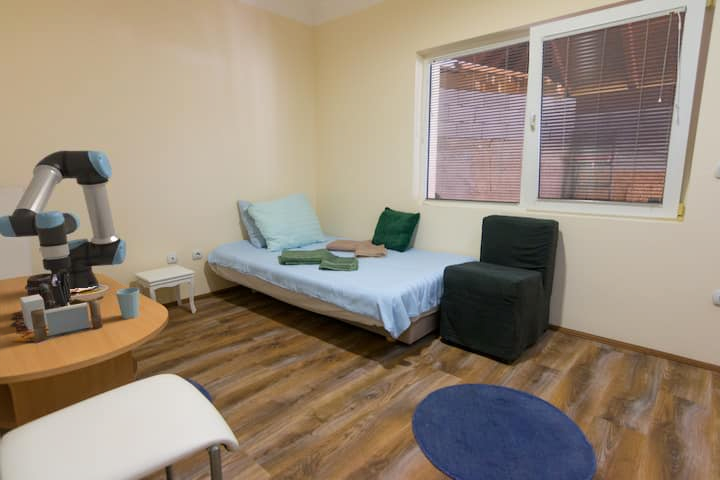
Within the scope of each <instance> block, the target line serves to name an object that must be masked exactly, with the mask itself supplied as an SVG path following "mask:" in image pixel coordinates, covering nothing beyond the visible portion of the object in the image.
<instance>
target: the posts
mask: <svg viewBox="0 0 720 480" xmlns="http://www.w3.org/2000/svg"><path fill="white" fill-rule="evenodd" d="M100 306H101V305H100V299H93V300H89V301H88V307H89V313H90V319H91V326H92V327H91V326H90V327H88V328H83V329H78V330H74V331H69V332H64V333H59V334H55V335H50V336H49V335H48V332H47V331H48V330H47V326H46V324H45V318H44V312H43V309H40V310H34V311H31V318H32V323H33V329H32V330H33V333H34V340H35V343H36V342H42V341H47V340H48V339H53V338H57V337H62V336H68V335H75V334H77V333H78V334H79V333H82V332H88V331H91V328H92V330H99V329H102V328H103V322H102V312H101V307H100Z"/></svg>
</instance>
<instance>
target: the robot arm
mask: <svg viewBox="0 0 720 480" xmlns="http://www.w3.org/2000/svg"><path fill="white" fill-rule="evenodd" d="M111 165H112V164H111V163H110V160H109V158H108V156H107V155H106V153H104V152H103V151H99V150H96V151H95V150H59V151H55V152H53V153H50V154H48V155H46V156H45V157H44V158H42V159H40V160H39V161H38V162H37V164H36V165H35V166H34V168H33V170H32V175H33V177H32V178H31V180H30V182H29V183H28V186H27V187H26V188H25V191H24V193H23V195H22V197H21V198H20V200H19V201H18V204H17V206H16V208H15V209H14V210H13V212H12V214H11V215H10V214H7V215H3V216H0V235H1V236H3V237H5V238H22V237H23V238H24V237H25V238H26V237H38V242H39V247H40V248H38V251H39V252H40V253H41V258H43V259H42V260H41V261H42V265H43V269H44V270H45V271H50V274H51V275H50V277H51V280H52V281H49V285H50V287H51V289H52V293H53V296H54V300H55V303H56V304H55V305H56V306H58V305H59V307H64V306H70V305H71V304H70V303H72V302H73V299H71V295H72V294H71V293H70V289H75V288H88V287H93V286H98V285H99V280H98V278H97V277H96V275H95V273H94V271H93V267H98V266H99V267H102V266H114V265H122V264H123V263H124V261H125V259H126V255H127V242H126V240H125V239H121V236H120V235H119V234H118V233H116V230H115V225H114V221H113V220H114V219H113V215H112V212H111V211H112V210H111V206H110V201H109V196H108V191H107V187H106V185H107V184H108V183H109V179H110V178H111V177H112V175H113V172H112V166H111ZM66 179H74V180H76V184H77V185H78V186H81V188H82V192H83V195H84V200H85V203H86V209H87V214H88V218H89V222H90V226H91V227H90V228H91V231H92V235H93V236H92V237H91V239H90V241H89V238H78V239H72V240H68V237H67V235H70V234H72V233H74V232H76V231H77V230H78V229H79V227H80V224H81V221H80V219H79V217H78V216H77V215H76V214H74V213H72V212H61V211H59V210H56V211H55V210H51V211H50V210H49V211H48V210H47V211H45V208H46V206H47V205H48V202H49V201H50V199H51V196H52V194H53V192H54V190H55V188H56V185H59V184H61V182H62V180H66ZM98 287H99V286H98Z"/></svg>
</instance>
